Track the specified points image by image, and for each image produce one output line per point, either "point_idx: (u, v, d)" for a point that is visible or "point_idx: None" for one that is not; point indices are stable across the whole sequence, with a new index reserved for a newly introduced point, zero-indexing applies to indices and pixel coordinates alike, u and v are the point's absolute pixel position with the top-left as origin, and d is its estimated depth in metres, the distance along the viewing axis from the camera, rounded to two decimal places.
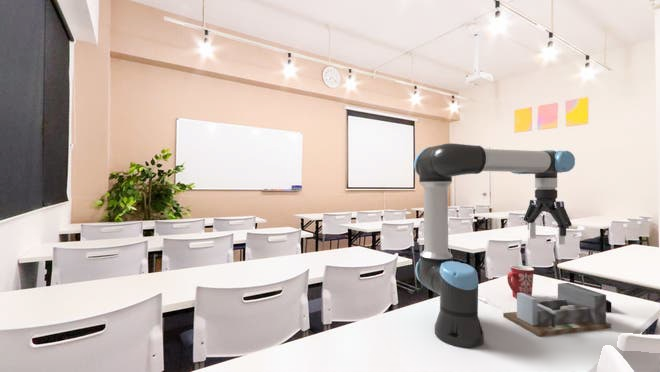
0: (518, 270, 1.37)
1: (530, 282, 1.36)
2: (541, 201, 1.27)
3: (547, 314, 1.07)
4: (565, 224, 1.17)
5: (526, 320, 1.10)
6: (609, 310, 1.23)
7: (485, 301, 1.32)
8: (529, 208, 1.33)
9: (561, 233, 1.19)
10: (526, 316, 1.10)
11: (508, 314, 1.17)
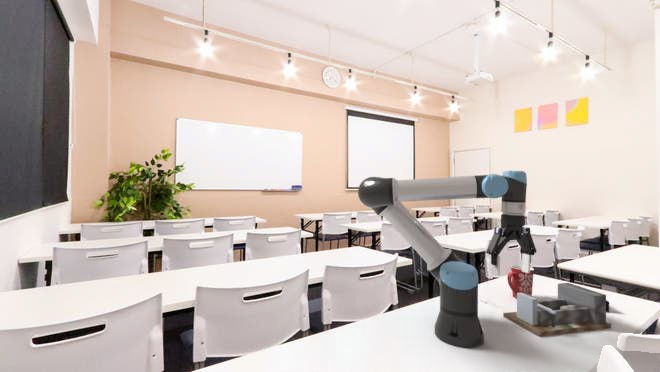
0: (518, 270, 1.37)
1: (530, 282, 1.36)
2: None
3: (547, 314, 1.07)
4: None
5: (526, 320, 1.10)
6: (607, 310, 1.23)
7: (485, 301, 1.32)
8: None
9: None
10: (526, 316, 1.10)
11: (508, 314, 1.17)
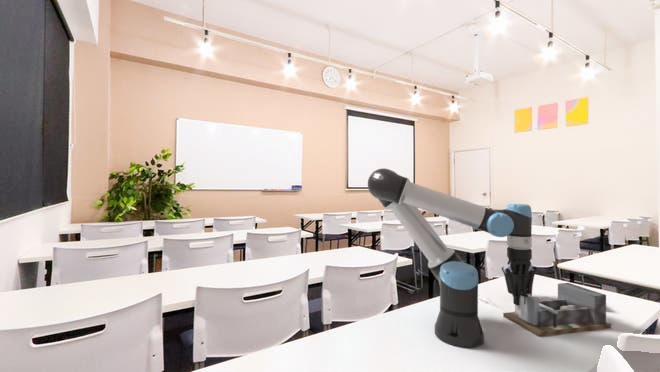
0: None
1: None
2: None
3: (547, 314, 1.07)
4: None
5: (528, 320, 1.11)
6: None
7: (486, 301, 1.33)
8: None
9: None
10: (528, 316, 1.11)
11: (508, 314, 1.17)
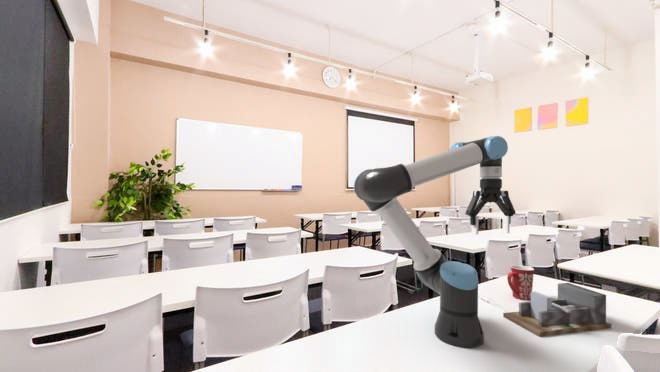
0: (518, 270, 1.37)
1: (530, 282, 1.36)
2: None
3: (547, 314, 1.07)
4: None
5: None
6: None
7: (487, 300, 1.33)
8: None
9: None
10: None
11: (508, 314, 1.17)
